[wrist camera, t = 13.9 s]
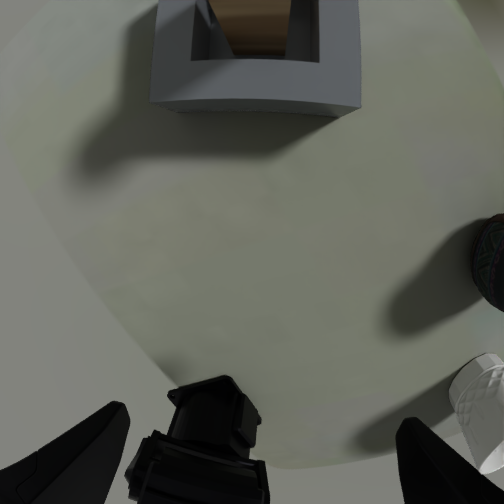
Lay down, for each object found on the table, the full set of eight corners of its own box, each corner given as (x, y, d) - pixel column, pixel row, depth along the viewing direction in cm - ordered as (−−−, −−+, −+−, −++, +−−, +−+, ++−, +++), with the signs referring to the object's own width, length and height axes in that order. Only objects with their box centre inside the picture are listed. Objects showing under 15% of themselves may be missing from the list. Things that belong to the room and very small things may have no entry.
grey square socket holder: (339, 117, 17) (361, 107, 12) (178, 112, 17) (149, 102, 13) (337, -15, 14) (352, -50, 9) (188, -17, 14) (168, -51, 10)
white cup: (500, 382, 23) (539, 440, 14) (444, 416, 25) (475, 484, 15) (503, 333, 21) (558, 395, 12) (440, 373, 23) (483, 452, 13)
